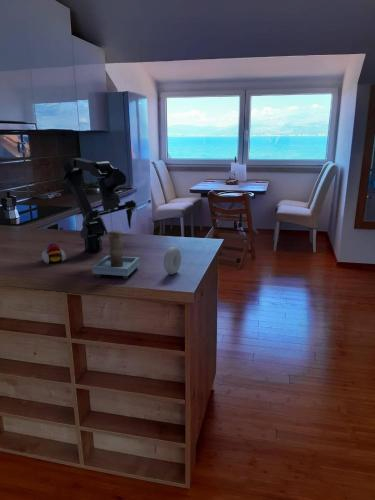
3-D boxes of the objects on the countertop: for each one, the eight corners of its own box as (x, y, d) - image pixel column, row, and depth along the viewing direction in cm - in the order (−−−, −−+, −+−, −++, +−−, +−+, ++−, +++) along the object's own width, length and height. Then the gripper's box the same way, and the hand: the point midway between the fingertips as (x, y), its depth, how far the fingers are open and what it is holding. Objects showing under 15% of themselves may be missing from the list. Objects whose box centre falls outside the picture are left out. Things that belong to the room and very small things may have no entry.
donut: (174, 268, 144) (174, 243, 141) (182, 270, 143) (182, 244, 140) (162, 277, 136) (161, 250, 133) (170, 278, 134) (170, 251, 131)
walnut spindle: (108, 265, 139) (106, 232, 136) (117, 262, 143) (115, 229, 139) (116, 268, 137) (114, 234, 133) (125, 265, 140) (123, 231, 136)
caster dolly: (93, 277, 136) (92, 266, 134) (107, 266, 148) (107, 255, 147) (128, 280, 133) (127, 268, 132) (140, 268, 145) (139, 257, 144)
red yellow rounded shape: (45, 265, 149) (43, 247, 147) (41, 259, 157) (39, 241, 155) (67, 262, 153) (65, 244, 151) (63, 256, 161) (61, 239, 159)
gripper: (79, 196, 142) (91, 237, 142) (129, 183, 143) (140, 223, 143) (86, 200, 153) (96, 238, 153) (132, 188, 154) (142, 225, 154)
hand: (118, 231), depth 151 cm, fingers open, 9 cm apart
